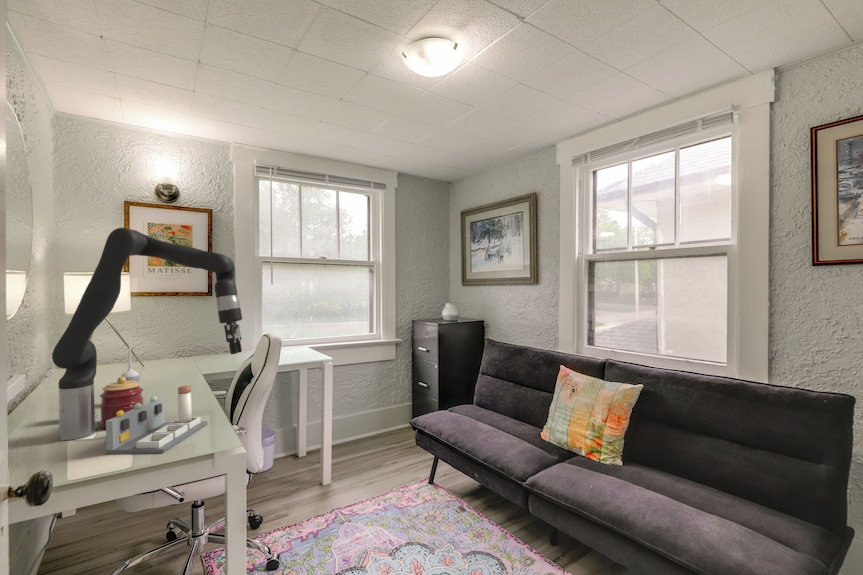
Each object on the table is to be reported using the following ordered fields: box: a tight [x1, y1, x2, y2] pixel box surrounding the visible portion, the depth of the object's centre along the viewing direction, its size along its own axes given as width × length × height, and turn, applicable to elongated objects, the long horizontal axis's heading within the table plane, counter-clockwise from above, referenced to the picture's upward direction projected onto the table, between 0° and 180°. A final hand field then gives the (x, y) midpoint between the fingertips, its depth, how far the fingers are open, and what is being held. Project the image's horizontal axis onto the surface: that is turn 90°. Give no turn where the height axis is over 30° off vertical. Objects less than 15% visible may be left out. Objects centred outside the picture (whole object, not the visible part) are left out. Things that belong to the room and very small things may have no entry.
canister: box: [99, 376, 144, 429], centre depth 154 cm, size 13×13×18 cm
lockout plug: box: [177, 385, 193, 423], centre depth 147 cm, size 4×4×14 cm
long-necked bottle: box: [120, 346, 141, 388], centre depth 179 cm, size 8×8×25 cm
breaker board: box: [104, 395, 209, 455], centre depth 139 cm, size 25×18×12 cm
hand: (236, 353), depth 148 cm, fingers open, 8 cm apart
